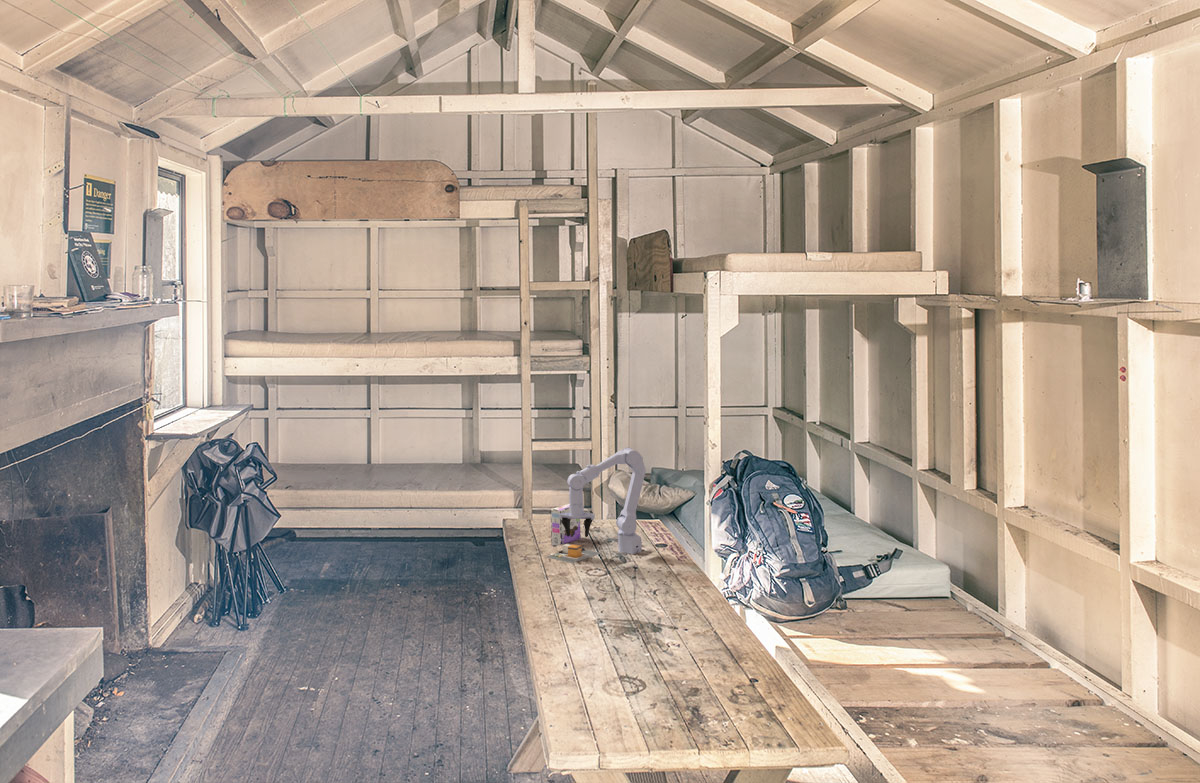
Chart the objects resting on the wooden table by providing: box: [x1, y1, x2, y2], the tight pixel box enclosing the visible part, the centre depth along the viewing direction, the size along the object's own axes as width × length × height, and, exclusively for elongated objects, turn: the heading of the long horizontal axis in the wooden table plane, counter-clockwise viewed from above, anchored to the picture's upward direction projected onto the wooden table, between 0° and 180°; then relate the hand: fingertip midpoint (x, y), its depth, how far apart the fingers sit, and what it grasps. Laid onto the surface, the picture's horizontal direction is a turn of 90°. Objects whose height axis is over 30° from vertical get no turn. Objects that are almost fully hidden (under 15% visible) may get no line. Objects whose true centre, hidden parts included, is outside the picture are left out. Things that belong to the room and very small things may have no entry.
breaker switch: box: [562, 543, 572, 553], centre depth 388 cm, size 3×2×3 cm
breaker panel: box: [545, 547, 603, 564], centre depth 384 cm, size 16×18×3 cm
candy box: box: [550, 503, 581, 547], centre depth 408 cm, size 14×6×16 cm, turn 143°
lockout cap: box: [568, 543, 583, 558], centre depth 379 cm, size 4×4×5 cm
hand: (577, 536), depth 383 cm, fingers open, 7 cm apart
